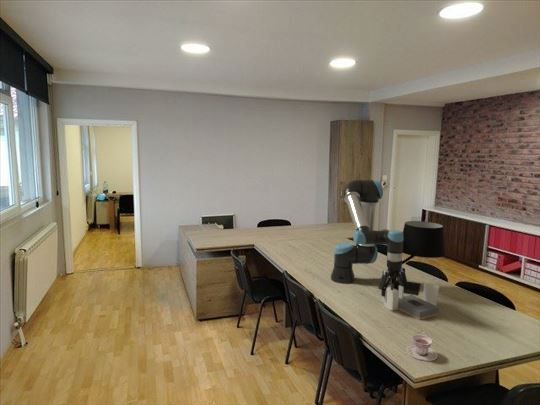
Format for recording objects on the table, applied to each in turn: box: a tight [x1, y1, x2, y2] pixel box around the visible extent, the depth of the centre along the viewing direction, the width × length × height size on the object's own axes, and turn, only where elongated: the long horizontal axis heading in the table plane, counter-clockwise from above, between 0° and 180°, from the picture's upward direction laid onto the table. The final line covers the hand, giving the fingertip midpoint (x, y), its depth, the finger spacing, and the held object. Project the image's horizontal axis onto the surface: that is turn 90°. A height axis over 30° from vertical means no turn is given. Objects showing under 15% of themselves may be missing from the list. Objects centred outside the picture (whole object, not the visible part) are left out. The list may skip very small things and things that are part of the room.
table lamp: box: [391, 220, 446, 296], centre depth 222 cm, size 26×28×40 cm
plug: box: [383, 283, 399, 311], centre depth 196 cm, size 6×4×13 cm, turn 27°
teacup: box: [405, 333, 438, 362], centre depth 152 cm, size 12×12×6 cm
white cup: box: [422, 283, 440, 306], centre depth 203 cm, size 8×8×10 cm
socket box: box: [397, 294, 440, 321], centre depth 194 cm, size 18×14×4 cm
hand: (392, 299), depth 197 cm, fingers open, 11 cm apart
